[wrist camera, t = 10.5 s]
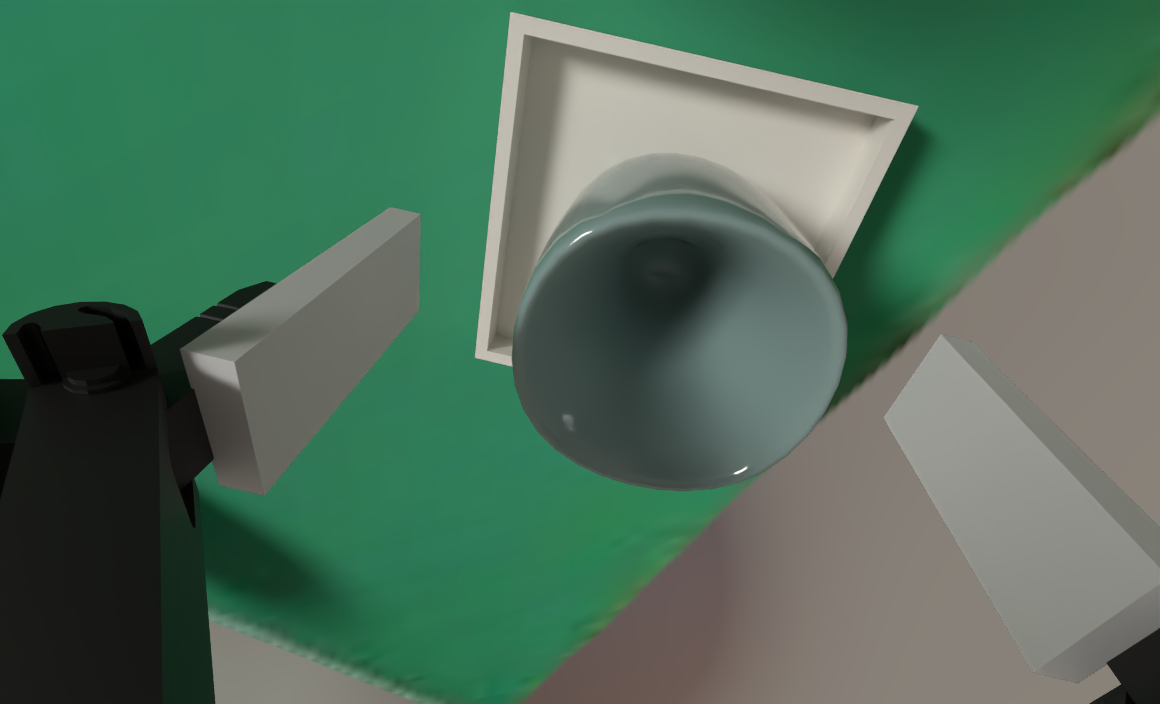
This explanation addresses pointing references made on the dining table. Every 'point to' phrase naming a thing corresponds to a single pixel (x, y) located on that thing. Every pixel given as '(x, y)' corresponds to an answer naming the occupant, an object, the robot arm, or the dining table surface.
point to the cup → (677, 328)
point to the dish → (665, 144)
